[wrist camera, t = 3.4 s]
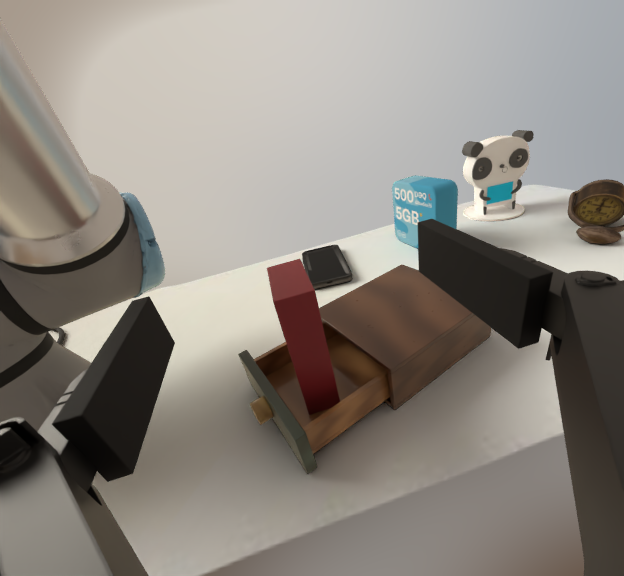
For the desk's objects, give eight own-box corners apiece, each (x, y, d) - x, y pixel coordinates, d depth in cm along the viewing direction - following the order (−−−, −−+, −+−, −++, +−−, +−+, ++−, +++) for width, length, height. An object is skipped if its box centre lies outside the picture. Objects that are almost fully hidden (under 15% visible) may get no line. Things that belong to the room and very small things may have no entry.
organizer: (394, 410, 29) (390, 370, 26) (320, 345, 39) (312, 311, 36) (490, 336, 34) (494, 297, 32) (403, 296, 45) (401, 264, 42)
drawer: (293, 486, 24) (278, 452, 22) (239, 390, 35) (226, 360, 32) (434, 376, 31) (434, 342, 28) (354, 323, 41) (349, 294, 39)
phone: (337, 243, 64) (352, 274, 51) (338, 248, 65) (353, 280, 51) (301, 252, 64) (307, 285, 51) (302, 257, 65) (308, 290, 51)
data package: (395, 239, 63) (391, 180, 57) (413, 232, 64) (410, 174, 58) (435, 257, 53) (435, 188, 47) (456, 248, 54) (458, 180, 48)
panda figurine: (476, 225, 61) (482, 145, 53) (451, 210, 71) (453, 141, 63) (537, 213, 60) (551, 130, 53) (503, 199, 70) (511, 128, 63)
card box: (297, 368, 34) (266, 267, 28) (324, 360, 34) (300, 258, 28) (309, 415, 29) (273, 301, 22) (341, 405, 29) (314, 290, 23)
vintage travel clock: (667, 187, 46) (590, 171, 52) (640, 205, 40) (557, 184, 47) (636, 230, 50) (569, 210, 57) (608, 252, 44) (536, 227, 51)
